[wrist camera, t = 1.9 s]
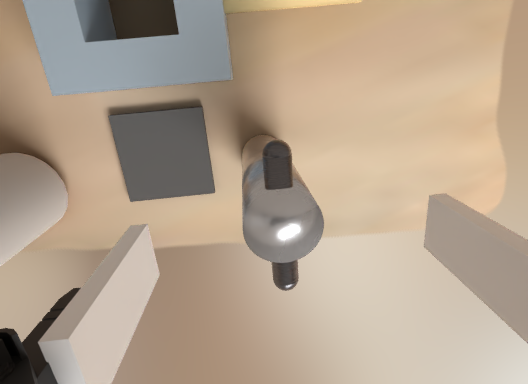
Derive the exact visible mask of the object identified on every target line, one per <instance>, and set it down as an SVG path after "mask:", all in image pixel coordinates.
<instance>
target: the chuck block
mask: <svg viewBox="0 0 528 384" xmlns="http://www.w3.org/2000/svg"><path fill="white" fill-rule="evenodd" d="M173 1H174V7H175V13H176V19H177V25H178V31H179V34H178V35H167V36H155V37H143V38H132V39H120V40H117V36H116V32H115V27H114V23H113V18H112V14H111V10H110V5H109V1H108V0H23V4H24V7H25V10H26V13H27V16H28V19H29V23H30V26H31V29H32V32H33V35H34V39H35V42H36V45H37V48H38V51H39V55H40V58H41V61H42V64H43V67H44V70H45V74H46V77H47V80H48V83H49V86H50V90H51V93H52V96H57V95H68V94H80V93H92V92H103V91H114V90H125V89H136V88H147V87H158V86H168V85H179V84H190V83H201V82H212V81H223V80H233V72H232V63H231V55H230V46H229V37H228V28H227V19H226V14H230V13H242V12H253V11H265V10H277V9H289V8H301V7H313V6H325V5H337V4H349V3H360V2H361V1H362V0H173Z"/></svg>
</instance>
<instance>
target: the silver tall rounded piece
mask: <svg viewBox="0 0 528 384" xmlns="http://www.w3.org/2000/svg"><path fill="white" fill-rule="evenodd" d="M242 199H243V235H244V239H245V241H246V243H247V245H248V247H249V248H250V249H251V250H252V251H253V252H254V253H255V254H256V255H257V256H259V257H260V258H262V259H265V260H267V261H270V262H272V271H273V280H274V283H275V285H276V286H277V287H278V288H279V289H281V290H285V291H287V290H291V289H293V288H294V287H295V286H296V284H297V282H298V262H297V260H298V259H300V258H302V257H304V256H306V255H307V254H308V253H310V252H311V251H312V250H313V249H314V248H315V247H316V245H317V244H318V242H319V240H320V239H321V236H322V233H323V229H324V220H323V215H322V212H321V210H320V208H319V206H318V205H317V203H316V201H315V200H314V198H313V196H312V195H311V193H310V191H309V190H308V188H307V186H306V185H305V183H304V181H303V180H302V178H301V177H300V175H299V173H298V172H297V170H296V168H295V167H294V165H293V163H292V153H291V149H290V147H289V145H288V144H287V143H286V142H284V141H282V140H277V139H275V138H274V137H272V136H269V135H258V136H255V137H253V138H251V139H250V140H249V141H248V142H247V143H246V144H245V146H244V148H243V152H242Z"/></svg>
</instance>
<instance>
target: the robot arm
mask: <svg viewBox="0 0 528 384" xmlns="http://www.w3.org/2000/svg"><path fill="white" fill-rule="evenodd" d="M424 247H425V248H426V249H427V250H428V251H429V252H430V253H431V254H432V255H433V256H434V257H435V258H436V259H438V260H439V261H440V262H441V263H442V264H443V265H444V266H445V267H446V268H447V269H448V270H449V271H450V272H452V273H453V274H454V275H455V276H456V277H457V278H458V279H459V280H460V281H461V282H462V283H463V284H464V285H465V286H467V287H468V288H469V289H470V290H471V291H472V292H473V293H474V294H475V295H476V296H477V297H478V298H479V299H481V300H482V301H483V302H484V303H485V304H486V305H487V306H488V307H489V308H490V309H491V310H492V311H493V312H494V313H496V314H497V315H498V316H499V317H500V318H501V319H502V320H503V321H504V322H505V323H506V324H507V325H509V327H511V328H512V329H513V330H514V331H515V332H516V333H517V334H518V335H519V336H520V337H521V338H522V339H523V340H525V341H526V342H527V343H528V240H527V239H525V238H523V237H521V236H520V235H518V234H516V233H514V232H513V231H511V230H509V229H507V228H506V227H504V226H502V225H500V224H499V223H497V222H495V221H493V220H491V219H490V218H488V217H486V216H484V215H483V214H481V213H479V212H477V211H476V210H474V209H472V208H470V207H468V206H467V205H465V204H463V203H461V202H460V201H458V200H456V199H454V198H452V197H451V196H449V195H447V194H436V195H429V203H428V212H427V221H426V231H425V240H424ZM159 275H160V274H159V270H158V266H157V262H156V257H155V253H154V249H153V245H152V241H151V237H150V233H149V228H148V224H142V225H132V226H130V227H129V228H128V230H127V231H126V232H125V233H124V235H123V236H122V237H121V238H120V240H119V241H118V242H117V243H116V245H115V246H114V247H113V248H112V250H111V251H110V252H109V254H108V255H107V256H106V257H105V258H104V260H103V261H102V262H101V264H100V265H99V266H98V267H97V269H96V270H95V271H94V272H93V274H92V275H91V276H90V277H89V279H88V280H87V281H86V282H85V284H84V285H83V286H82V287H81V288H74V289H72V290H71V291H69V292H68V293H67V294H65V295H64V296H63V297H61V298H60V299H59V300H58V301H57V302H56V304H55V305H54V306H53V307H52V308H51V310H50V312H48V313H47V314H46V315H45V316H44V318H43V319H42V321H41V322H39V324H38V325H37V326H36V327H35V328H34V329H33V331H32V332H31V333H30V334H29V335H28V337H26V339H25V340H24V341H23V342H22V343H21V341H20V339H19V337H18V334H17V333H16V332H15V330H14V329H8V328H5V329H0V384H111V383H112V381H113V379H114V377H115V374H116V372H117V370H118V368H119V365H120V363H121V361H122V359H123V356H124V354H125V352H126V350H127V347H128V345H129V343H130V340H131V338H132V336H133V334H134V331H135V329H136V327H137V325H138V322H139V320H140V318H141V316H142V313H143V311H144V309H145V307H146V304H147V302H148V300H149V298H150V295H151V293H152V291H153V288H154V286H155V284H156V282H157V279H158V277H159Z"/></svg>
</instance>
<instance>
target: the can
mask: <svg viewBox="0 0 528 384" xmlns="http://www.w3.org/2000/svg"><path fill="white" fill-rule="evenodd" d="M67 204H68V194H67V191H66V187H65V184H64V182H63V181H62V179H61V178H60V176H59V175H58V173H57V172H56V171H55V170H53V169H52V168H51V167H50V166H49V165H48V164H47V163H45V162H43V161H41V160H39V159H37V158H36V157H34V156H31V155H26V154H22V153H4V154H1V155H0V266H1V265H2V264H4V263H5V262H6V261H8V260H9V259H10V258H12V257H13V256H14V255H16V254H17V253H18V252H19V251H21V250H22V249H23V248H25V247H26V246H27V245H28V244H30V243H31V242H32V241H34V240H35V239H36V238H38V237H39V236H40V235H41V234H43V233H44V232H45V231H47V230H48V229H49V228H50V227H52V226H53V225H54V224H55V223H57V222H58V221H59V220H60V219H61V218H62V217H63V215H64V213H65V211H66V209H67Z"/></svg>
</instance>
